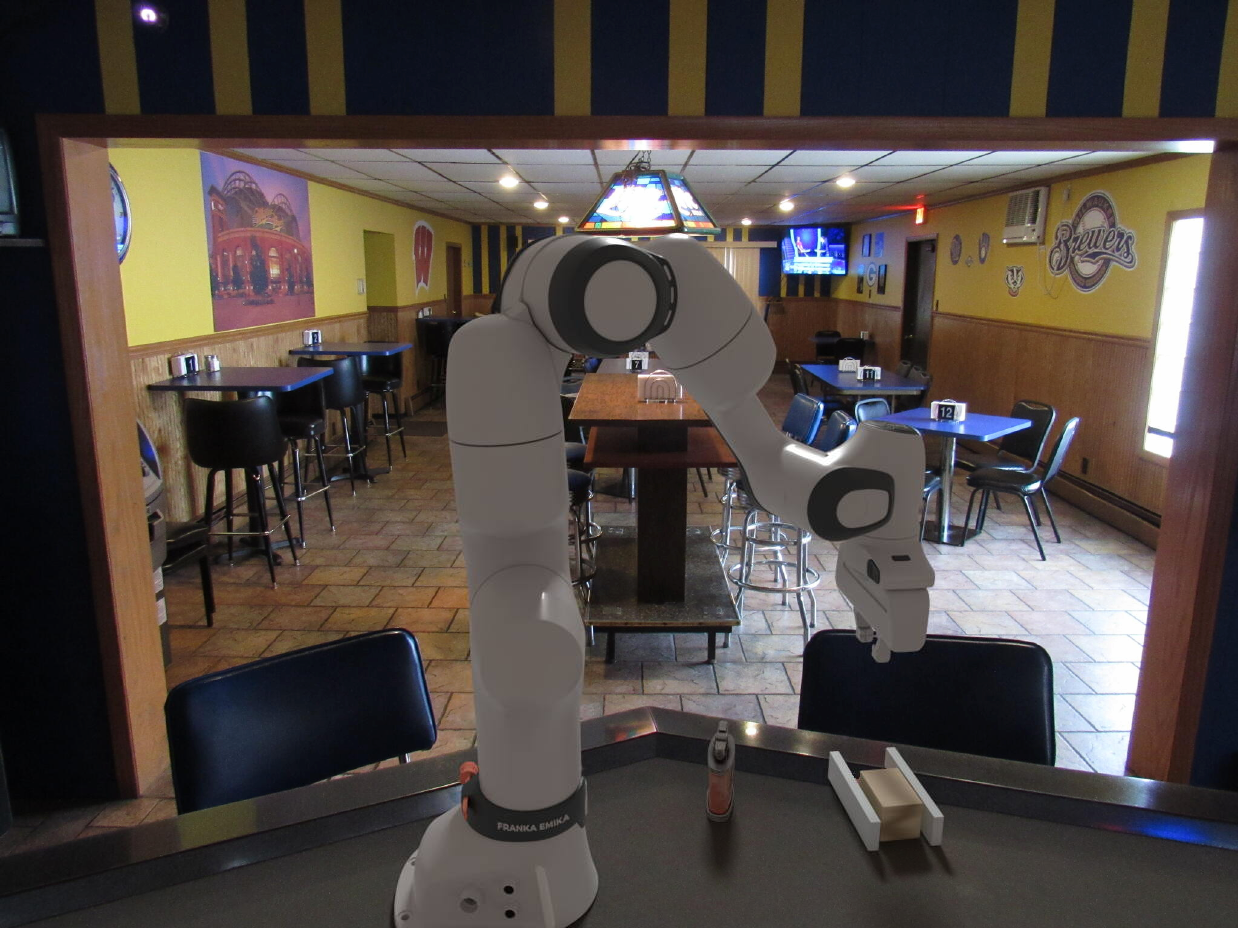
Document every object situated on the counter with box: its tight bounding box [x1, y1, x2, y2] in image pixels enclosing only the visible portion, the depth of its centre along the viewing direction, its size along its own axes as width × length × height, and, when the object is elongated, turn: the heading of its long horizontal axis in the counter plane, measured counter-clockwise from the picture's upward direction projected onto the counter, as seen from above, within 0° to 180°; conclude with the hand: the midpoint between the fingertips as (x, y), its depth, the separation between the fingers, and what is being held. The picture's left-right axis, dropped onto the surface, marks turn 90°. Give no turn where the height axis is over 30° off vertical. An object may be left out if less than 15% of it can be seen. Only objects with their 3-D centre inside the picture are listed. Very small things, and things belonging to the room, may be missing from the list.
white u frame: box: [827, 746, 945, 852], centre depth 107 cm, size 9×14×4 cm, turn 6°
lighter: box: [706, 720, 736, 823], centre depth 108 cm, size 8×3×10 cm, turn 168°
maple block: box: [859, 768, 923, 842], centre depth 105 cm, size 5×7×5 cm
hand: (872, 649), depth 108 cm, fingers open, 4 cm apart
